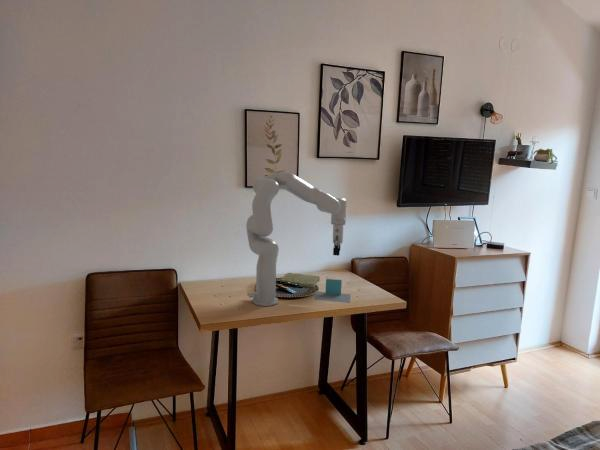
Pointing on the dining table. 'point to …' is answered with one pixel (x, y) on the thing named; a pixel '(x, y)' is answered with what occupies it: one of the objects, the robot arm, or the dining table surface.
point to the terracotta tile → (333, 286)
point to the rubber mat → (332, 297)
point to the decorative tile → (301, 279)
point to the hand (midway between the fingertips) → (336, 253)
